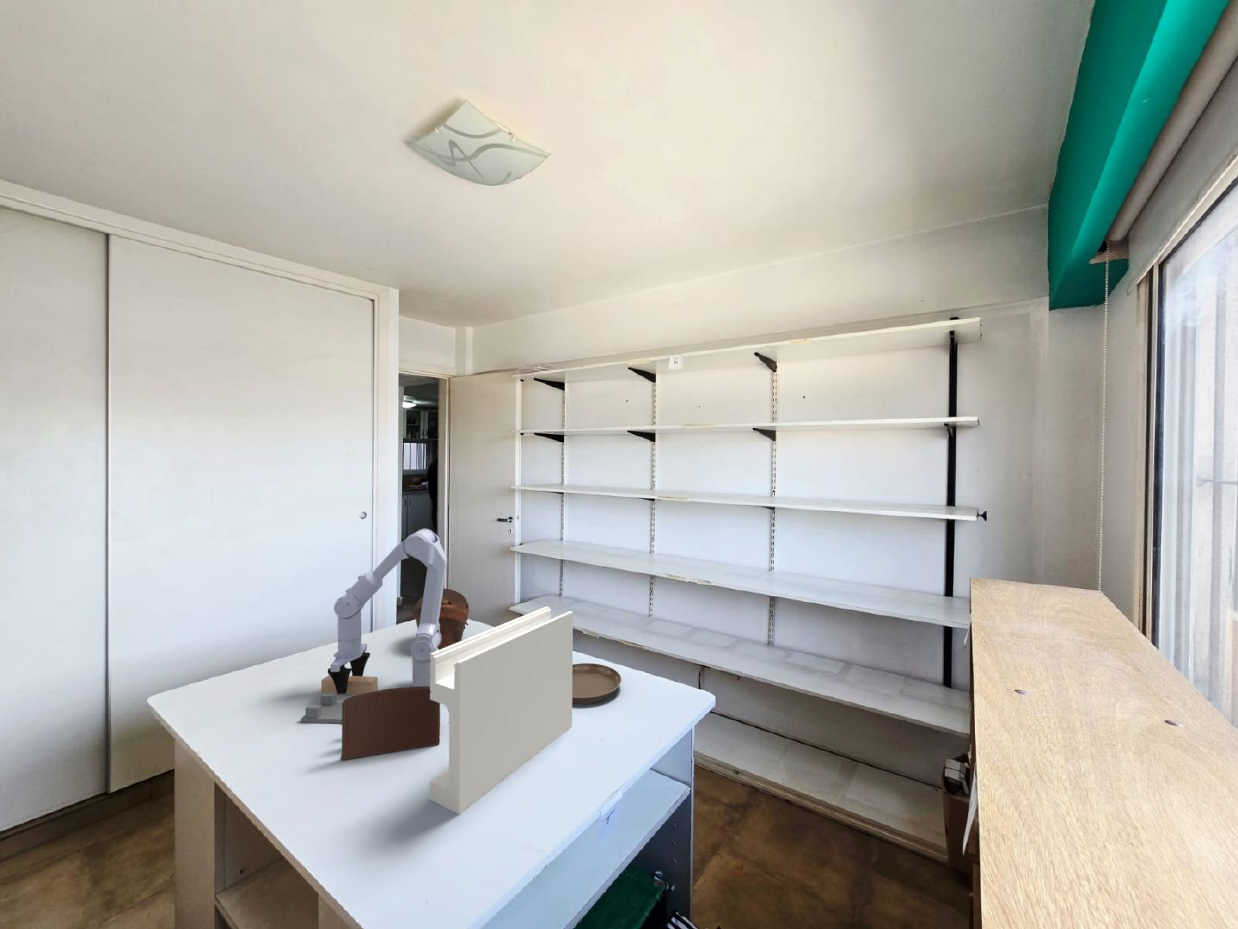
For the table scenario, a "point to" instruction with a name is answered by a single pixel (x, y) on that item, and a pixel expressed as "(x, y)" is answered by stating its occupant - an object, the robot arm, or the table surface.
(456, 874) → the table surface
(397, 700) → the letter holder
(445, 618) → the case
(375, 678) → the light brown rectangular bar
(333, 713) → the plate with corner studs
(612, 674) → the plant saucer
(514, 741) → the white panel with ledge
